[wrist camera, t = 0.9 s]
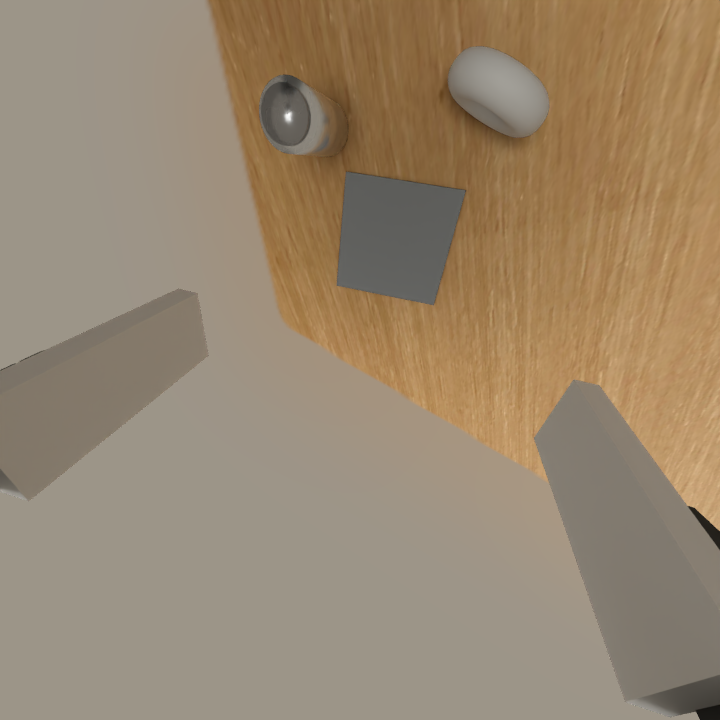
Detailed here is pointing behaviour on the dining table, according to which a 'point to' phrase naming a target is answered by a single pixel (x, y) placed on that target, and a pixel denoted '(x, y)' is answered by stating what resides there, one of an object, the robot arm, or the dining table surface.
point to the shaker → (301, 118)
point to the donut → (498, 91)
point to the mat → (396, 236)
